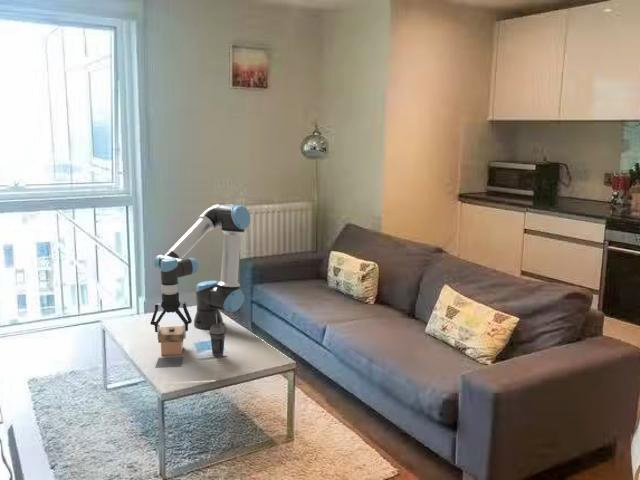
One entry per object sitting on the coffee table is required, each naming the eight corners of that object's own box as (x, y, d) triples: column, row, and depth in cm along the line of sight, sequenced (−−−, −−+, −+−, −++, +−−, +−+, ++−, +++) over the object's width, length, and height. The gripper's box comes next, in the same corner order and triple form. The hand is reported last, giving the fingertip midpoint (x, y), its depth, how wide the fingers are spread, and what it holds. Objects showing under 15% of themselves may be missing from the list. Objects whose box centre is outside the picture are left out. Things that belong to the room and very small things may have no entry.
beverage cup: (212, 360, 264) (211, 317, 261) (207, 354, 271) (206, 313, 267) (228, 357, 268) (227, 315, 264) (223, 351, 274) (222, 310, 270)
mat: (183, 358, 267) (183, 356, 266) (181, 367, 256) (181, 366, 256) (158, 359, 265) (158, 357, 265) (155, 369, 254) (155, 367, 254)
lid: (185, 333, 278) (184, 324, 277) (183, 341, 267) (182, 332, 266) (161, 334, 276) (160, 325, 275) (158, 342, 266) (157, 333, 265)
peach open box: (183, 348, 278) (182, 334, 277) (181, 355, 269) (181, 341, 268) (163, 349, 277) (163, 334, 275) (161, 356, 268) (160, 341, 267)
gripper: (196, 289, 273) (198, 334, 277) (144, 290, 269) (146, 336, 274) (195, 294, 265) (197, 340, 270) (142, 295, 262) (144, 342, 266)
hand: (171, 338), depth 272 cm, fingers closed on lid, 11 cm apart
